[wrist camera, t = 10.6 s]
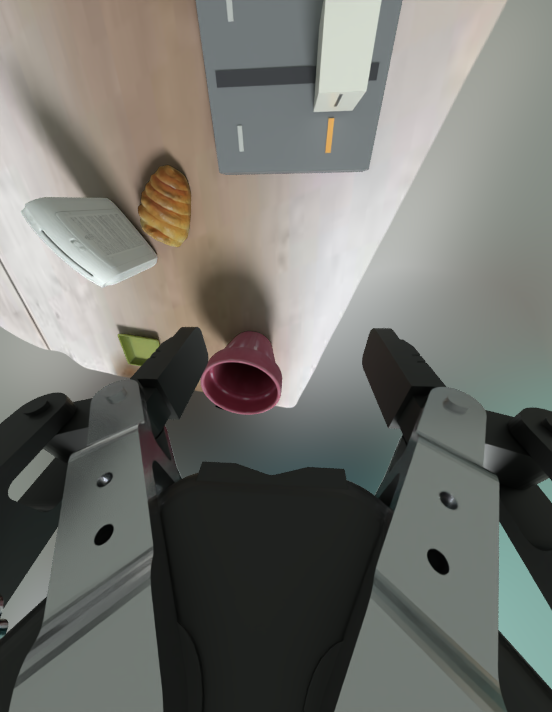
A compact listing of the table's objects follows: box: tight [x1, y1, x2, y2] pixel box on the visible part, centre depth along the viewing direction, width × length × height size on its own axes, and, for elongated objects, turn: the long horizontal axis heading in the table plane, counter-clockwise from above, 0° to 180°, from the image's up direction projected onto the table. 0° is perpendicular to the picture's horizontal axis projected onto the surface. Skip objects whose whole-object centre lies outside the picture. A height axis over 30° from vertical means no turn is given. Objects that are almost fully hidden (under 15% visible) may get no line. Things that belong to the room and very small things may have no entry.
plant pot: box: [201, 331, 282, 414], centre depth 40 cm, size 14×14×13 cm
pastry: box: [138, 165, 191, 247], centre depth 29 cm, size 9×7×4 cm
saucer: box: [118, 334, 160, 366], centre depth 47 cm, size 9×9×2 cm
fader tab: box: [314, 0, 382, 112], centre depth 17 cm, size 4×5×5 cm
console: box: [196, 0, 402, 175], centre depth 21 cm, size 18×14×3 cm
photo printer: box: [21, 197, 158, 287], centre depth 28 cm, size 10×4×12 cm, turn 30°
